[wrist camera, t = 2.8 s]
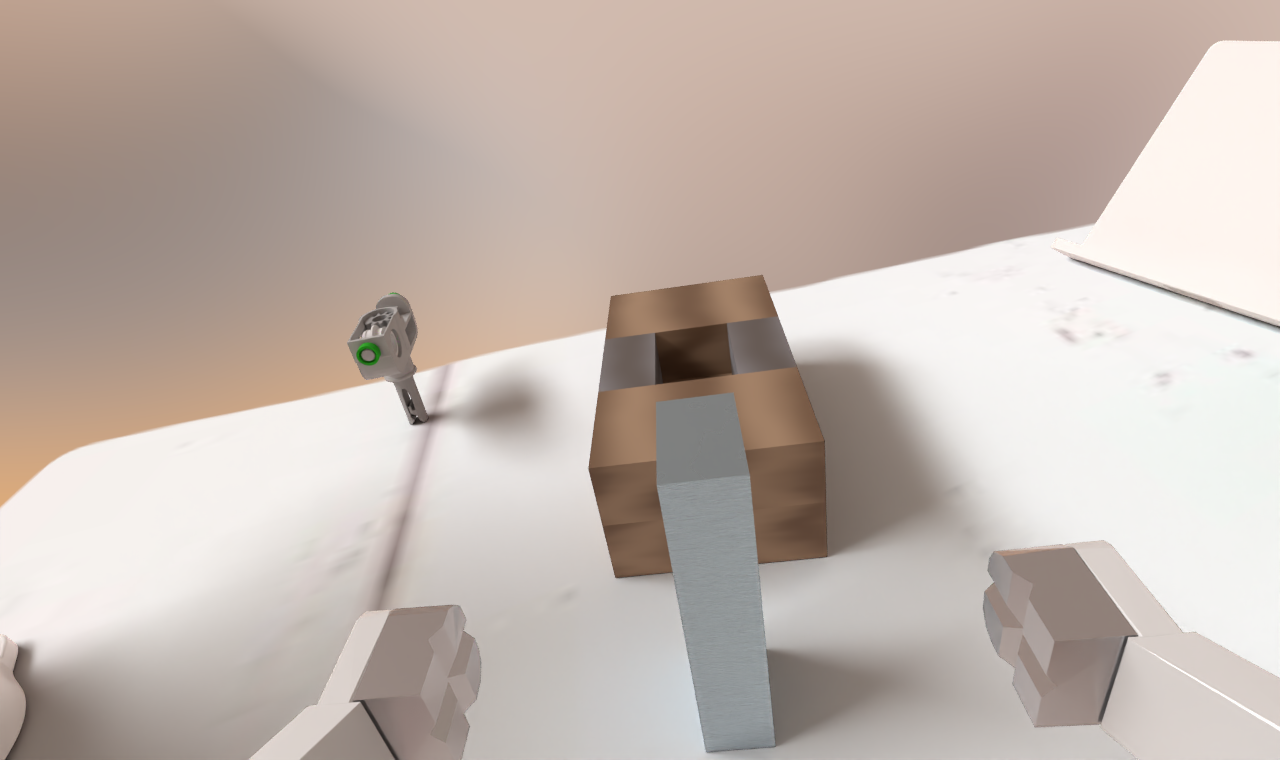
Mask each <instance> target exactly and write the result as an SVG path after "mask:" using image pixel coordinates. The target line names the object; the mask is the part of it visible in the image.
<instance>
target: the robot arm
mask: <svg viewBox="0 0 1280 760" xmlns="http://www.w3.org/2000/svg"><path fill="white" fill-rule="evenodd" d="M988 572H989V574H990V576H991V577H992V579H993V581H994V583H993V584H992V585H991V586H990V587H989V588H988V589H987V590H986V591H985V592H984V603H983V611H984V617H985V623H986V628H987V631H988V633H989V636H990V639H991V642H992V644H993V646H994V648H995V650H996V652H997V654H998V656H999V657H1000V658H1002V659H1003V660H1005V661H1006V662H1007V663H1009V664H1010V665H1012V666H1013V667H1015V673H1014V678H1013V686H1014V688H1015V690H1016V692H1017V694H1018V695H1019V697H1020V699H1021V701H1022V703H1023V705H1024V707H1025V709H1026V711H1027V713H1028V715H1029V717H1030V719H1031V721H1032V723H1033V725H1034V727H1055V726H1077V725H1099V724H1101V726H1100V728H1101V729H1102V730H1103V731H1105V732H1106V733H1107V734H1108V735H1109V736H1111V737H1112V738H1113V739H1114V740H1115V741H1117V742H1118V743H1119V744H1120V745H1122V746H1123V747H1124V748H1125V749H1126V750H1128V751H1129V752H1130V753H1131V754H1132V755H1134V756H1135V757H1136V758H1137V759H1138V760H1280V678H1279V677H1277V676H1275V675H1273V674H1271V673H1269V672H1268V671H1266V670H1264V669H1262V668H1260V667H1258V666H1257V665H1255V664H1253V663H1251V662H1249V661H1247V660H1246V659H1244V658H1242V657H1240V656H1238V655H1236V654H1235V653H1233V652H1231V651H1229V650H1227V649H1225V648H1224V647H1222V646H1220V645H1218V644H1216V643H1214V642H1213V641H1211V640H1209V639H1207V638H1205V637H1203V636H1202V635H1200V634H1198V633H1196V632H1187V633H1183V632H1182V630H1181V629H1180V628H1179V627H1178V626H1177V624H1176V623H1175V622H1174V621H1173V619H1172V618H1171V617H1170V616H1169V615H1168V613H1167V612H1166V611H1165V610H1164V608H1163V607H1162V606H1161V605H1160V604H1159V602H1158V601H1157V600H1156V599H1155V597H1154V596H1153V595H1152V594H1151V593H1150V591H1149V590H1148V589H1147V588H1146V586H1145V585H1144V584H1143V583H1142V582H1141V580H1140V579H1139V578H1138V577H1137V575H1136V574H1135V573H1134V572H1133V571H1132V569H1131V568H1130V567H1129V566H1128V564H1127V563H1126V562H1125V561H1124V560H1123V558H1122V557H1121V556H1120V555H1119V553H1118V552H1117V551H1116V550H1115V549H1114V547H1113V546H1112V545H1111V544H1109V543H1107V542H1106V541H1104V540H1101V541H1091V542H1082V543H1072V544H1066V545H1062V544H1059V545H1050V546H1041V547H1031V548H1022V549H1013V550H1004V551H995V552H993V554H992V555H991V557H990V558H989V564H988ZM465 623H466V617H465V615H464V613H463V611H462V609H461V607H460V606H459V605H444V606H430V607H416V608H401V609H393V610H380V611H367V612H365V613H364V614H362V615H361V616H360V617H359V618H358V619H357V621H356V623H355V625H354V627H353V629H352V631H351V634H350V636H349V638H348V640H347V642H346V644H345V646H344V648H343V651H342V653H341V655H340V657H339V659H338V661H337V663H336V665H335V668H334V670H333V672H332V674H331V676H330V678H329V680H328V682H327V685H326V687H325V689H324V691H323V693H322V695H321V697H320V699H319V702H318V704H317V705H313V706H307V707H306V708H305V709H304V710H303V711H302V712H301V713H299V714H298V715H297V716H296V717H295V718H294V719H293V720H292V721H291V722H289V723H288V724H287V725H286V726H285V727H284V728H283V729H282V730H281V731H279V732H278V733H277V734H276V735H275V736H274V737H273V738H272V739H271V740H269V741H268V742H267V743H266V744H265V745H264V746H263V747H262V748H261V749H259V750H258V751H257V752H256V753H255V754H254V755H253V756H252V757H251V758H249V759H248V760H461V759H462V755H463V751H464V747H465V743H466V740H467V736H468V732H469V728H470V726H469V724H468V721H467V719H466V717H465V715H464V713H465V711H466V710H467V709H468V708H469V707H470V706H471V705H472V704H473V703H474V701H475V700H476V699H477V695H478V691H479V686H480V682H481V658H480V653H479V648H478V646H477V643H476V641H475V638H473V637H472V636H470V635H469V634H467V633H466V632H464V631H463V630H464V626H465ZM17 654H18V645H17V644H16V643H15V642H13V641H12V640H11V639H9V638H8V637H7V636H5V635H0V760H5V758H6V757H7V755H8V754H9V752H10V750H11V748H12V746H13V745H14V743H15V741H16V739H17V737H18V734H19V732H20V729H21V727H22V724H23V720H24V717H25V711H26V698H25V694H24V691H23V689H22V688H21V686H20V685H19V683H18V682H17V681H16V679H15V677H14V675H13V669H14V666H15V662H16V659H17Z"/></svg>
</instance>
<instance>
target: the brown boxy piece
mask: <svg viewBox="0 0 1280 760" xmlns="http://www.w3.org/2000/svg"><path fill="white" fill-rule="evenodd" d="M733 392H734V397H735V402H736V408H737V413H738V418H739V423H740V428H741V433H742V438H743V443H744V448H745V453H746V459H747V464H748V469H749V474H750V483H751V494H752V505H753V515H754V526H755V536H756V547H757V557H758V563H768V562H778V561H788V560H798V559H808V558H818V557H827V527H826V482H825V441H824V438H823V436H822V433H821V430H820V427H819V425H818V422H817V419H816V417H815V414H814V411H813V409H812V406H811V403H810V401H809V398H808V395H807V393H806V390H805V387H804V385H803V382H802V379H801V377H800V374H799V371H798V368H797V366H796V363H795V360H794V358H793V355H792V352H791V350H790V347H789V344H788V342H787V339H786V336H785V334H784V331H783V328H782V326H781V323H780V320H779V318H778V315H777V312H776V309H775V307H774V304H773V301H772V299H771V296H770V293H769V291H768V288H767V285H766V283H765V280H764V277H763V275H760V276H752V277H745V278H738V279H730V280H723V281H716V282H709V283H702V284H695V285H688V286H680V287H673V288H666V289H659V290H651V291H644V292H637V293H630V294H623V295H615V296H611V300H610V309H609V315H608V323H607V331H606V338H605V346H604V353H603V361H602V369H601V376H600V384H599V392H598V399H597V407H596V415H595V422H594V430H593V438H592V445H591V453H590V460H589V468H588V469H589V473H590V477H591V481H592V485H593V489H594V493H595V497H596V501H597V505H598V509H599V513H600V517H601V521H602V525H603V529H604V533H605V538H606V542H607V546H608V550H609V554H610V558H611V562H612V566H613V570H614V574H615V578H618V577H628V576H638V575H648V574H658V573H668V572H673V571H672V566H671V560H670V555H669V549H668V544H667V539H666V533H665V528H664V522H663V517H662V512H661V506H660V501H659V495H658V490H657V471H656V402H660V401H668V400H676V399H684V398H692V397H700V396H708V395H717V394H725V393H733Z"/></svg>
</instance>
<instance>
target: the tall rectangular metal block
mask: <svg viewBox="0 0 1280 760" xmlns="http://www.w3.org/2000/svg"><path fill="white" fill-rule="evenodd" d="M656 471H657V490H658V495H659V501H660V506H661V512H662V517H663V522H664V528H665V533H666V539H667V544H668V549H669V555H670V560H671V566H672V571H673V576H674V582H675V587H676V593H677V598H678V603H679V609H680V614H681V620H682V625H683V630H684V636H685V641H686V646H687V652H688V657H689V663H690V668H691V673H692V679H693V684H694V690H695V695H696V700H697V706H698V711H699V717H700V722H701V727H702V733H703V738H704V744H705V749H706V752H712V751H726V750H739V749H752V748H766V747H775V736H774V726H773V715H772V705H771V694H770V684H769V673H768V662H767V652H766V641H765V631H764V620H763V610H762V599H761V589H760V578H759V568H758V557H757V547H756V536H755V526H754V515H753V505H752V494H751V483H750V474H749V469H748V464H747V459H746V453H745V448H744V443H743V438H742V433H741V428H740V423H739V418H738V413H737V408H736V402H735V397H734V392H733V393H725V394H717V395H708V396H700V397H692V398H684V399H676V400H668V401H660V402H656Z"/></svg>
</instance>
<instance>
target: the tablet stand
mask: <svg viewBox="0 0 1280 760" xmlns="http://www.w3.org/2000/svg"><path fill="white" fill-rule="evenodd" d="M1051 248H1053V249H1054V250H1056V251H1058V252H1060V253H1062V254H1064V255H1066V256H1068V257H1070V258H1073V259H1076V260H1079V261H1082V262H1085V263H1088V264H1091V265H1094V266H1097V267H1100V268H1103V269H1106V270H1109V271H1112V272H1115V273H1118V274H1121V275H1124V276H1127V277H1130V278H1133V279H1136V280H1139V281H1142V282H1145V283H1148V284H1151V285H1154V286H1157V287H1160V288H1163V289H1166V290H1169V291H1172V292H1175V293H1178V294H1182V295H1185V296H1188V297H1191V298H1194V299H1197V300H1200V301H1203V302H1206V303H1209V304H1212V305H1215V306H1218V307H1221V308H1224V309H1227V310H1230V311H1233V312H1236V313H1239V314H1242V315H1245V316H1248V317H1251V318H1254V319H1257V320H1260V321H1263V322H1266V323H1269V324H1272V325H1275V326H1278V327H1280V42H1277V41H1274V42H1273V41H1220V42H1218V43H1215V44H1214V45H1212V46H1211V47H1210V48H1209V50H1208V51H1207V52H1206V54H1205V56H1204V57H1203V59H1202V60H1201V62H1200V63H1199V65H1198V66H1197V68H1196V69H1195V71H1194V73H1193V74H1192V76H1191V77H1190V79H1189V80H1188V82H1187V83H1186V85H1185V87H1184V88H1183V89H1182V91H1181V93H1180V94H1179V96H1178V97H1177V99H1176V100H1175V102H1174V104H1173V105H1172V106H1171V108H1170V110H1169V111H1168V113H1167V114H1166V116H1165V117H1164V119H1163V121H1162V122H1161V123H1160V125H1159V127H1158V128H1157V130H1156V131H1155V133H1154V134H1153V136H1152V138H1151V139H1150V140H1149V142H1148V144H1147V145H1146V147H1145V148H1144V150H1143V151H1142V153H1141V154H1140V156H1139V158H1138V159H1137V161H1136V162H1135V164H1134V165H1133V167H1132V169H1131V170H1130V172H1129V173H1128V174H1127V176H1126V178H1125V179H1124V181H1123V182H1122V184H1121V185H1120V187H1119V188H1118V190H1117V192H1116V193H1115V195H1114V196H1113V198H1112V199H1111V201H1110V202H1109V204H1108V205H1107V207H1106V209H1105V210H1104V212H1103V213H1102V215H1101V216H1100V218H1099V219H1098V221H1097V222H1096V224H1095V225H1094V227H1093V229H1092V230H1091V232H1090V233H1089V235H1088V236H1087V238H1086V239H1085V241H1084V242H1083V244H1082V245H1080V244H1077V243H1074V242H1070V241H1067V240H1064V239H1061V238H1056V240H1055V241H1054V243H1053V244H1052V246H1051Z"/></svg>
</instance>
